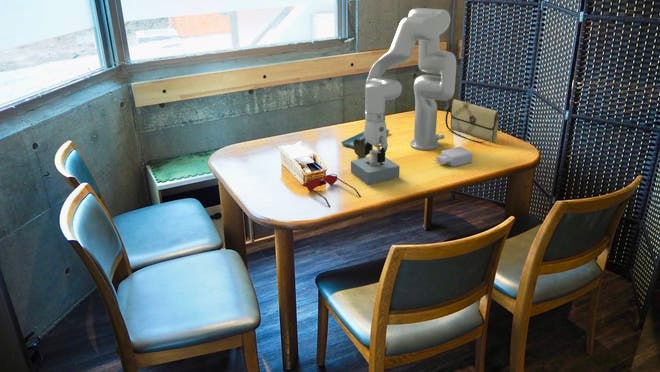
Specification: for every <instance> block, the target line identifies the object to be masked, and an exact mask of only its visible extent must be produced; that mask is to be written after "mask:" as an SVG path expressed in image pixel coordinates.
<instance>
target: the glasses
mask: <svg viewBox="0 0 660 372" xmlns="http://www.w3.org/2000/svg"><path fill="white" fill-rule="evenodd" d="M322 178H323V181H324V183H325V185H327V184H328V185H329V186H333V185H335V183H336V182H337V181H339V182H342V183H343V184H345V185H346V186H348V187H349V188H352V189H353V190H354V191H355V192H356V194H357V195H358V197H359V198H362V196H361V194H360V193H359V191H358V190H357V189H356V188H355V187H354V186H352V185H350V184H348V183H346V182H345V181H343V180H342V179H340V178H338V175H337V174H335V173H331V174H326V175H324V176H321V177H316V178H313V179H312V180H311V179H310V180H308V182H307V184H306V185H305V187H306V188H307V190H308V191H309V192H311V191H313V192H314V193H316V195H319V196H320V197H322V198H323V199H324V200H325V202H326V204H327V206H328V208H331V205H330V203H329V201H328V200H327V198H326V197H325V196H323V195H322V194H321V193H319V192H318V191H316V190H314V189H317V187H319V186H320V187H322V184H323V182H321V179H322Z"/></svg>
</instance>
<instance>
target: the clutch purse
mask: <svg viewBox="0 0 660 372" xmlns="http://www.w3.org/2000/svg"><path fill="white" fill-rule="evenodd" d="M500 112H501V111H499V110H494V109H490V108H488V107H483V106H480V105H477V104H473V103H469V102H465V101H462V100H458V99H455V98H452V100H451V102H450V105H449V106H448V107H447V110H446V114H445V126H446V128H447V129H448V131H450V132H451V133H453V134H454V135H456V136H458V137H460V138H463V139H465V140H469V141H471V142H475V143H478V144H483V143H485V142H491V143H493V144H494V143H496V141H497V137H498V130H499V126H500V124H499V122H500V115H501V113H500ZM449 113H450V127H449V124H448V117H449ZM454 130H455V131H454ZM456 131H457V132H460V133H463V134H466V135H469V136H473V137H475V138H478V139H481V140H484V141H477V140H475V139H471V138H468V137H466V136H463V135H461V134H459V133H457V132H456Z"/></svg>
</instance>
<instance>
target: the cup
mask: <svg viewBox="0 0 660 372" xmlns="http://www.w3.org/2000/svg"><path fill="white" fill-rule="evenodd" d="M364 142H365V141H364V139H363V138H362V139H361V140H360V138H359V140H358V139H355V140H354V142H353V145H354V148H353V151H354V154H355V155H356V156H357V159H362V158H367V155H366V154H365V144H364Z"/></svg>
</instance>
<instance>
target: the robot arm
mask: <svg viewBox="0 0 660 372" xmlns="http://www.w3.org/2000/svg"><path fill="white" fill-rule="evenodd" d="M450 24H451V15H450V13H449V12H448V10H446V9H441V8H440V9H437V8H427V7H425V8H424V7H421V8H413V9H411V10H410V11H409V13H408V15H407V16H406V17H403V18H402V19H401V20H400V22H399V24H398V26H397V29H396V31H395V35H394V37H393V39H392V43H391V44H390V47H389V49H388V51H387V52H386V53H385V54H383V55H382V56H381V57H380V58H379V59H378V60H376V61H375V63H373V65H372V67H371V68H370V69H369V72H368V76H367V78H366V81H365V85H364V86H365V87H364V89H365V90H364V99H365V100H364V103H365V104H364V109H365V111H364V115H365V117H364V119H365V121H364V131H362V132H363V136H364V141H365V142H364V144H365V154H366V156H367V155H370V151H371V150H374V147H375V148H376V150H378V153H377V162H378V163H381V162H385V157H386V153H387V150H388V146H389V143H388V134H387V130H386V129H387V124H386V123H387V122H386V101H394V100H396V99H398V98H400V96H401V95H402V92H403V85H402V83H400V81H398V80H395V79H390V78H386V77H382V76H383V74H384V73H385V72H386V71H387V70H388V69H390V68H393V67H395V66H398V65H400V64H403V63H406V62H407V61H409V60H410V59H411V56H412V54H413V53H412V52H413V51H414V48H415V46H416V42H417V41H418V54H417V55H418V56H417V57H418V60H417V63H418V69H419V71H421V72H422V73H423V72H424V73H428V74H421V75H419V76H417V77H416V78H415V80H414V82H413V92H414V102H415V103H414V105H415V107H414V131H413V132H414V133H413V134H414V135H413V139H412V140H411V141H410V144H409V145H410V147H411V148H414V149H416V150H420V151H421V150H422V151H429V150H431V151H432V150H435V149H437V148H438V147H439V146H440V144H439V140H444V139H445V134H439V133H437V122H438V120H437V118H438V106H437V105H438V104H437V102H436V100H438V101H444V102H447V101H450V100H451V99H453V97H454V94H455V88H456V87H455V86H456V75H457V58H456V56H455V54H454V53H453V52H451V51H448V50H441V49H440V35H442V34H444V33H445V32H446V31H447V30H448V28H449V27H450ZM431 74H434V75H431ZM437 75H440V76H437Z"/></svg>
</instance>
